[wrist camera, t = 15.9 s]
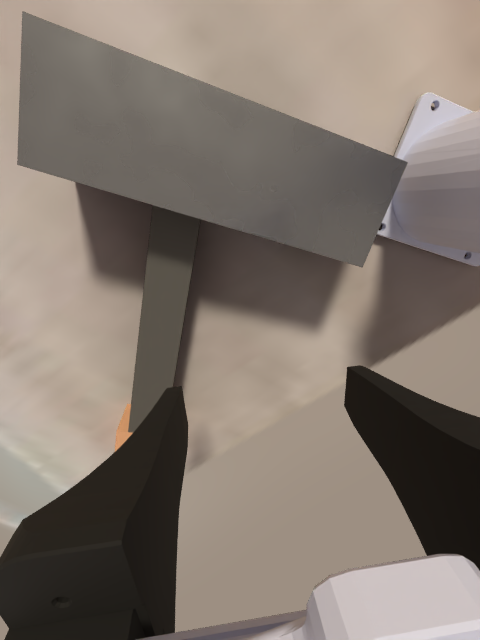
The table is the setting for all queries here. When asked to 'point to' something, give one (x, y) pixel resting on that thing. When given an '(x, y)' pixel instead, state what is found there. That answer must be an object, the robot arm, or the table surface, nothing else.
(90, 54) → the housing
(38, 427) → the table surface
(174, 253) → the grey orange long bar
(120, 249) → the table surface
